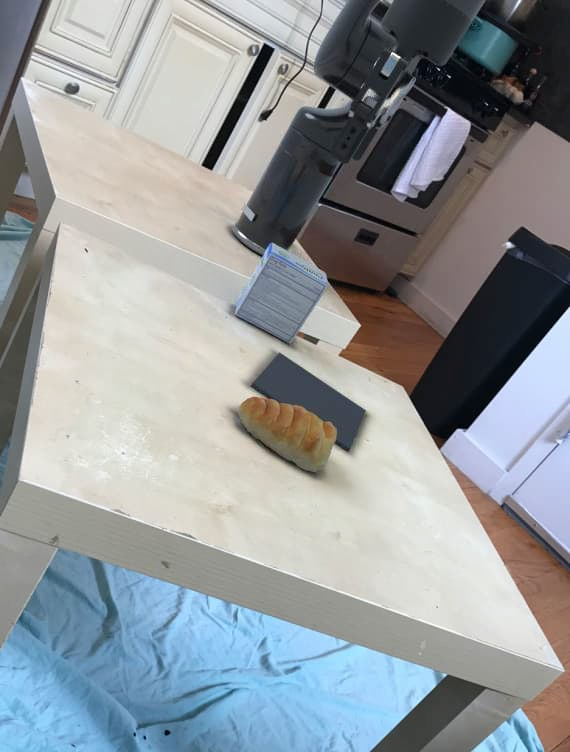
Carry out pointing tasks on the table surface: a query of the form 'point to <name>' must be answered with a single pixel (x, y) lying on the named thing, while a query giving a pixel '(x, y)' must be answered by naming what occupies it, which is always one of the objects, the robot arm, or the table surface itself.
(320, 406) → the mat
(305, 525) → the table surface
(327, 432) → the pastry
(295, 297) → the medicine box
